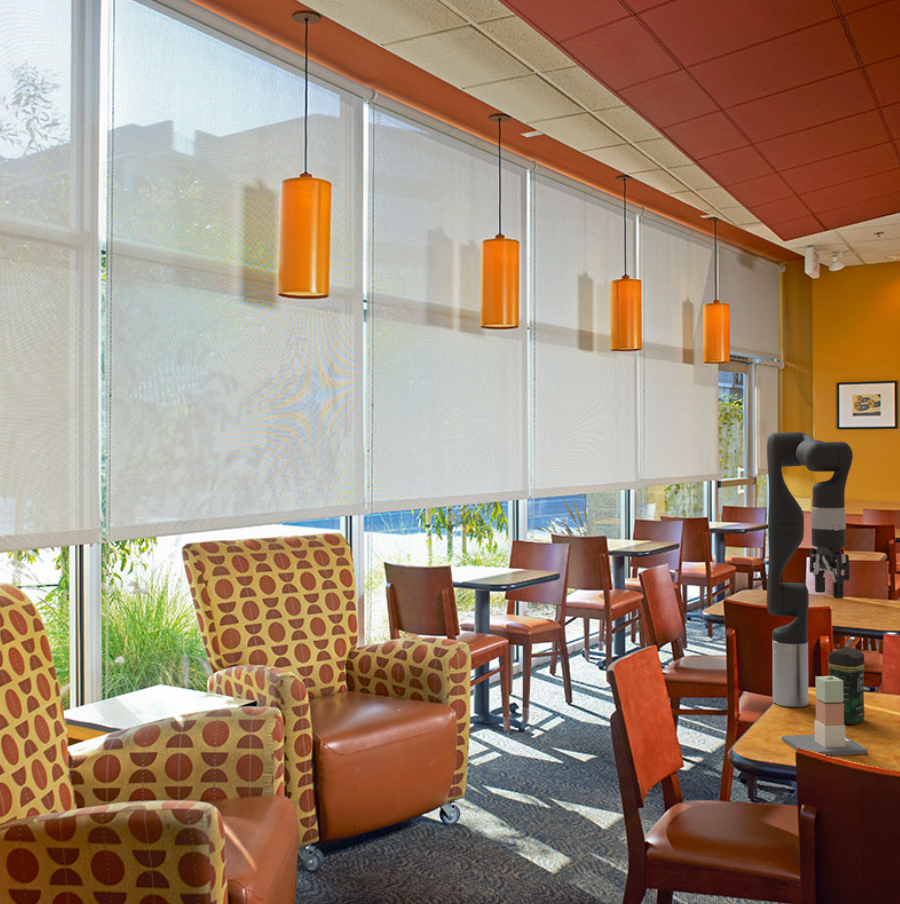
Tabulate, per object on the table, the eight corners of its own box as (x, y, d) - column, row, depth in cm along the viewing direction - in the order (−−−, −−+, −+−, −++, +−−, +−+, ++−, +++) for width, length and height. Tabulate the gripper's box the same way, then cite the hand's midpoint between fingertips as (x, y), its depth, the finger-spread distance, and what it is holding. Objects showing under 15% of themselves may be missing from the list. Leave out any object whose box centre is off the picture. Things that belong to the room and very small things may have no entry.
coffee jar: (855, 727, 234) (854, 654, 234) (823, 721, 239) (823, 649, 239) (869, 719, 241) (869, 648, 241) (838, 713, 246) (838, 643, 246)
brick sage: (815, 697, 221) (815, 674, 221) (833, 696, 221) (833, 674, 221) (824, 702, 216) (824, 679, 216) (843, 702, 217) (843, 679, 217)
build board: (781, 740, 225) (781, 715, 225) (841, 737, 226) (840, 713, 226) (805, 756, 213) (805, 730, 213) (867, 753, 214) (867, 728, 214)
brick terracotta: (815, 720, 221) (815, 697, 221) (834, 719, 221) (833, 696, 221) (825, 725, 216) (825, 702, 216) (843, 725, 217) (843, 702, 217)
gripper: (799, 524, 225) (799, 590, 225) (828, 529, 211) (828, 600, 211) (828, 523, 226) (829, 590, 226) (859, 529, 212) (860, 600, 212)
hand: (829, 595), depth 218 cm, fingers open, 8 cm apart
